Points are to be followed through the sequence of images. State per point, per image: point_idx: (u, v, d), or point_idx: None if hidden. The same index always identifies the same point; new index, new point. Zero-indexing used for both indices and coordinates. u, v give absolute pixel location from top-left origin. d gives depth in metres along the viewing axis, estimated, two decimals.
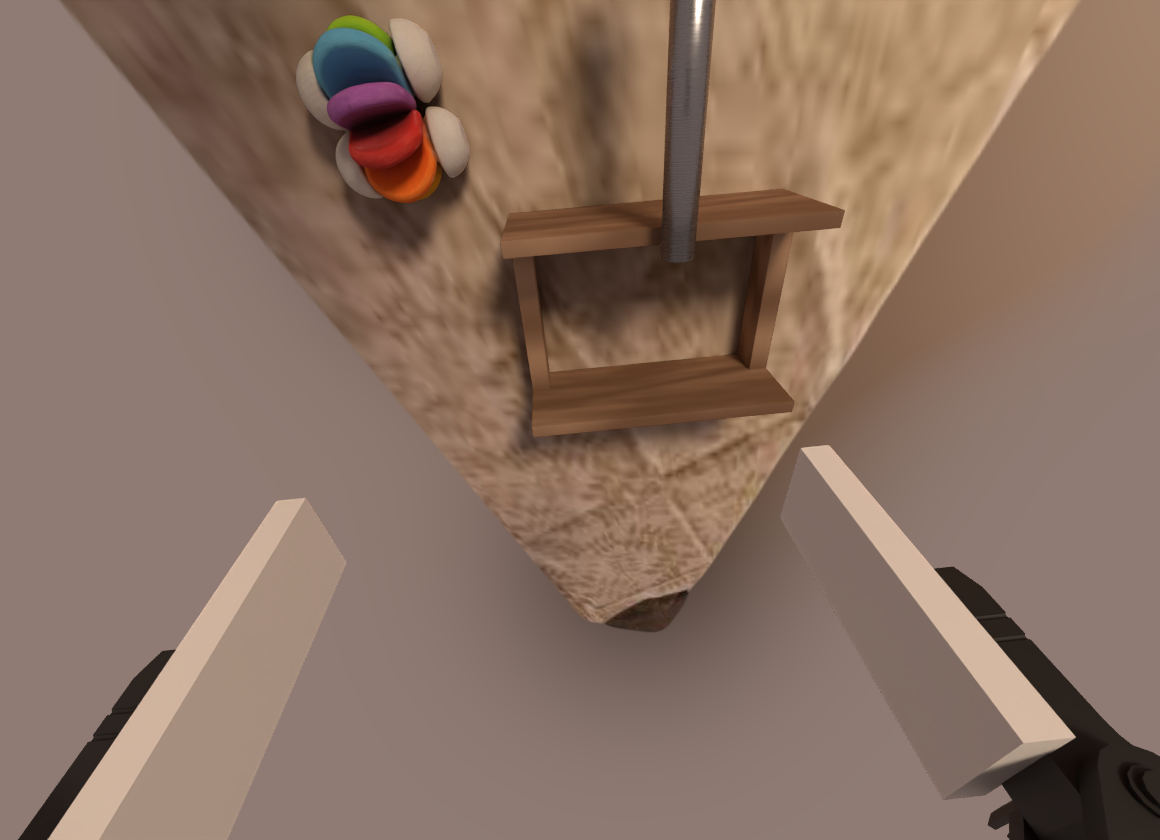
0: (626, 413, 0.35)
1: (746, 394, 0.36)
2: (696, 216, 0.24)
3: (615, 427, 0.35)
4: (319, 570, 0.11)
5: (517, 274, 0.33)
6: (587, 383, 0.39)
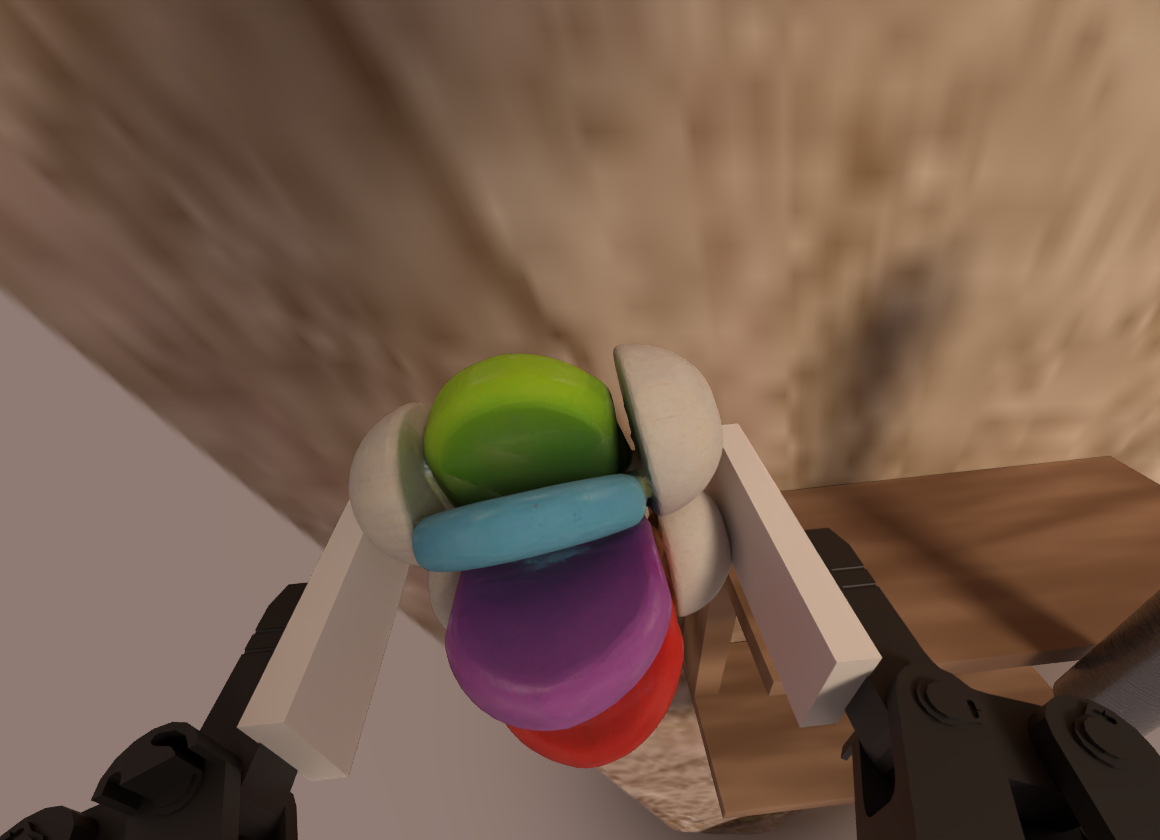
0: None
1: None
2: None
3: (847, 802, 0.23)
4: None
5: (714, 599, 0.21)
6: None
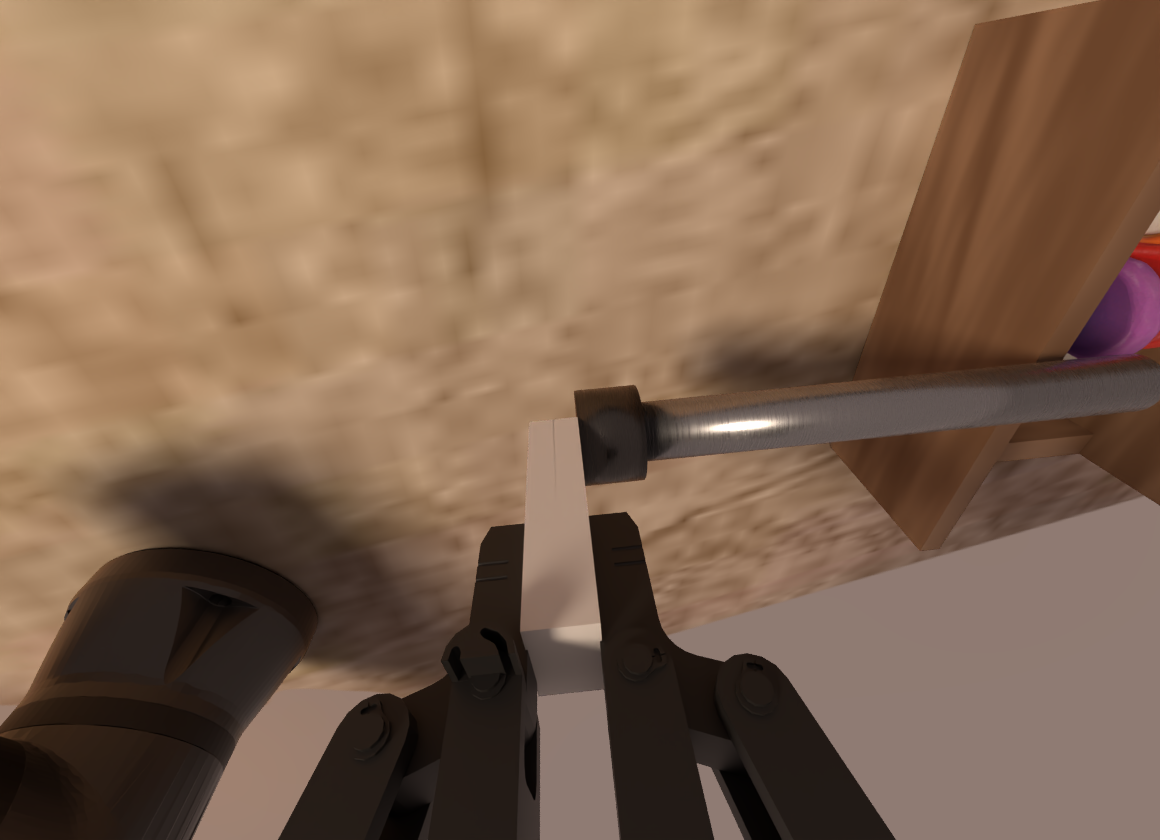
0: None
1: None
2: (1094, 379, 0.14)
3: None
4: None
5: None
6: None
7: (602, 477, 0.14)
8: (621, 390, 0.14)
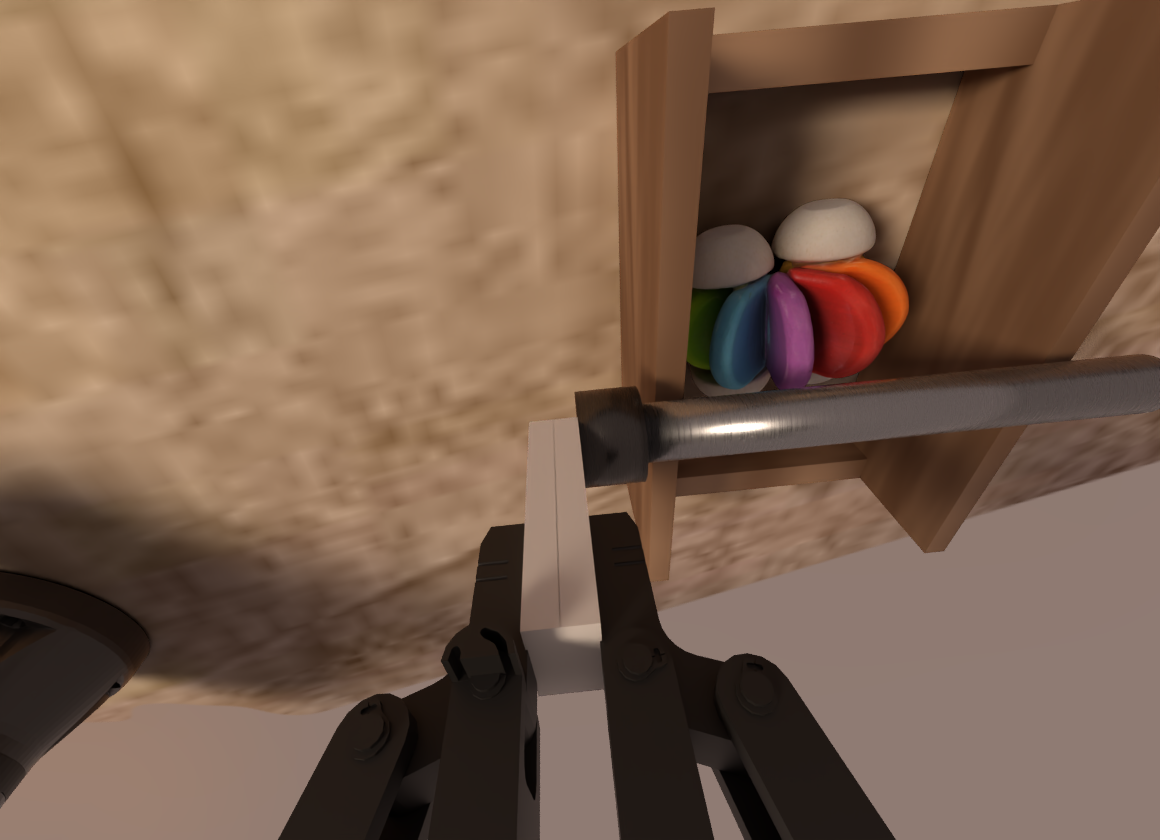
0: None
1: (1122, 129, 0.13)
2: (1103, 380, 0.14)
3: (1006, 450, 0.18)
4: None
5: (692, 492, 0.26)
6: None
7: (603, 479, 0.14)
8: (622, 391, 0.14)
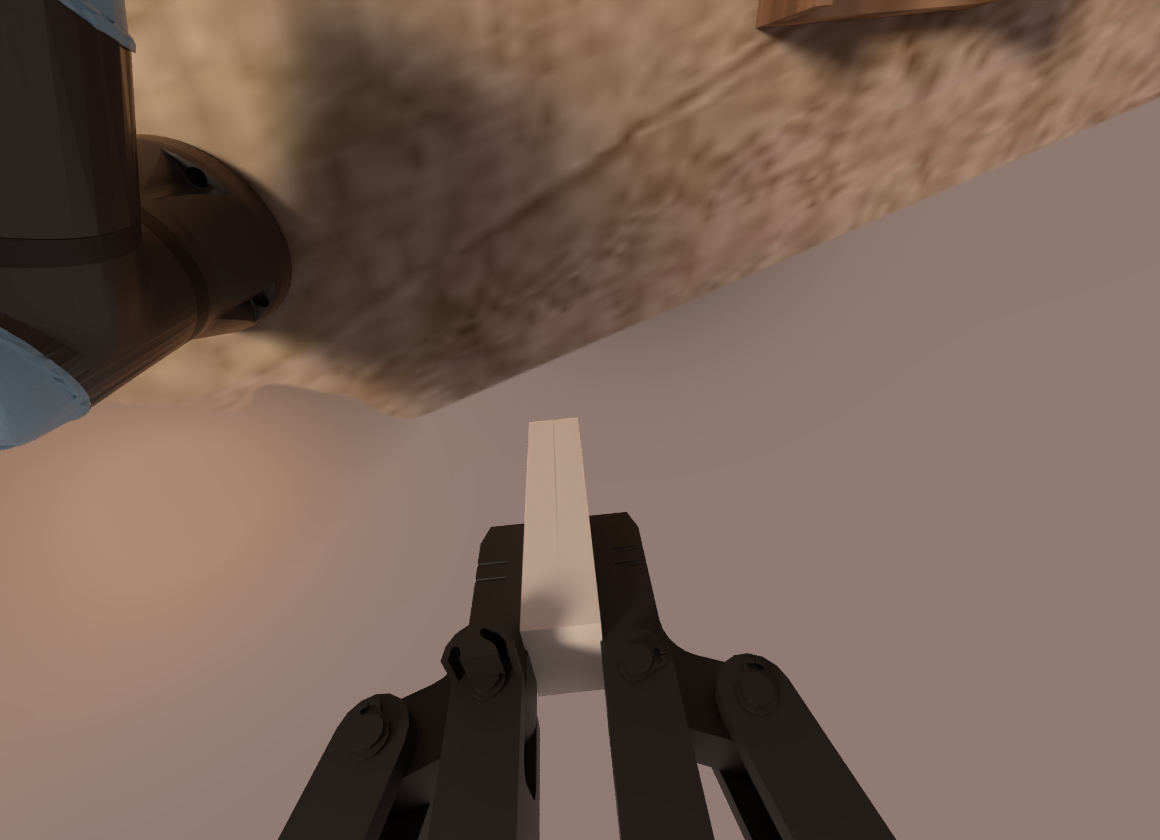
0: None
1: None
2: None
3: None
4: None
5: (829, 12, 0.29)
6: None
7: None
8: None
